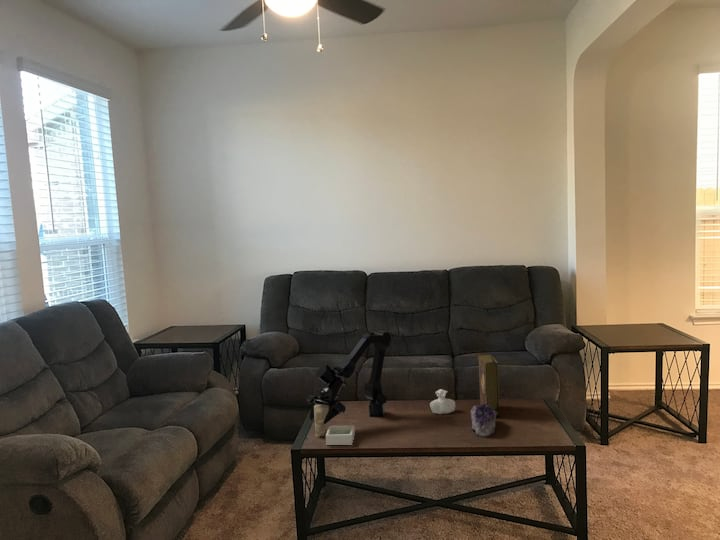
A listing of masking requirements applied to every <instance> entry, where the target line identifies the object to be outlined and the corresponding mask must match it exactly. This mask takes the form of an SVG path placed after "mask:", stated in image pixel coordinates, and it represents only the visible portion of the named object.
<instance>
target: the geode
mask: <svg viewBox="0 0 720 540" xmlns="http://www.w3.org/2000/svg"><path fill="white" fill-rule="evenodd" d="M496 414H497V412H496V410H494V409H491V408H490V406H489V405H487V404H481V405H480V404H479V405H473V406H472V408H471V410H470V421H471V431H474V432H475V435H476V436H477V437H479V438H484V439H485V438H486V439H487V438H488V437H491V436H493V435H494V434H495V429H496V421H497V416H496Z"/></svg>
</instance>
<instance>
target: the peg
mask: <svg viewBox="0 0 720 540" xmlns="http://www.w3.org/2000/svg"><path fill="white" fill-rule="evenodd" d="M313 419H314V430H315V431H314V432H315V433H314V434H315V437H316V436H323V435H325V436H326V429H325V424H324V423H323V422H324V419H325V414H324V405H315V406H314V418H313Z"/></svg>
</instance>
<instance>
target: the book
mask: <svg viewBox="0 0 720 540" xmlns="http://www.w3.org/2000/svg"><path fill="white" fill-rule="evenodd" d="M478 376H479V381H478V382H479V402H480V404H479V405H481V404H487V405H489V406H490V408H491V409H494V410H496V412H497V414H496V417H500V415H501V414H500V412H501V410H500V388H499V385H500V384H499V363H498V361H497V360H496V359H495V358H494V356H493V355H491V354H490V353H480V354H478Z"/></svg>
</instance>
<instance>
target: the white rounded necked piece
mask: <svg viewBox="0 0 720 540" xmlns="http://www.w3.org/2000/svg"><path fill="white" fill-rule="evenodd" d="M447 393H448V390H445V389H441V388H440V389H438V390H437V391H435V395H436V397H438V398H437V399H434V400H432V401H431V402H430V403H429V406H430V409H431V412H432V413H433V414H438V415H442V414H450V413H452V412H453V413H454V412H455V409H456V401H454V399H450V398H446V396H447V395H446V394H447Z"/></svg>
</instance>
